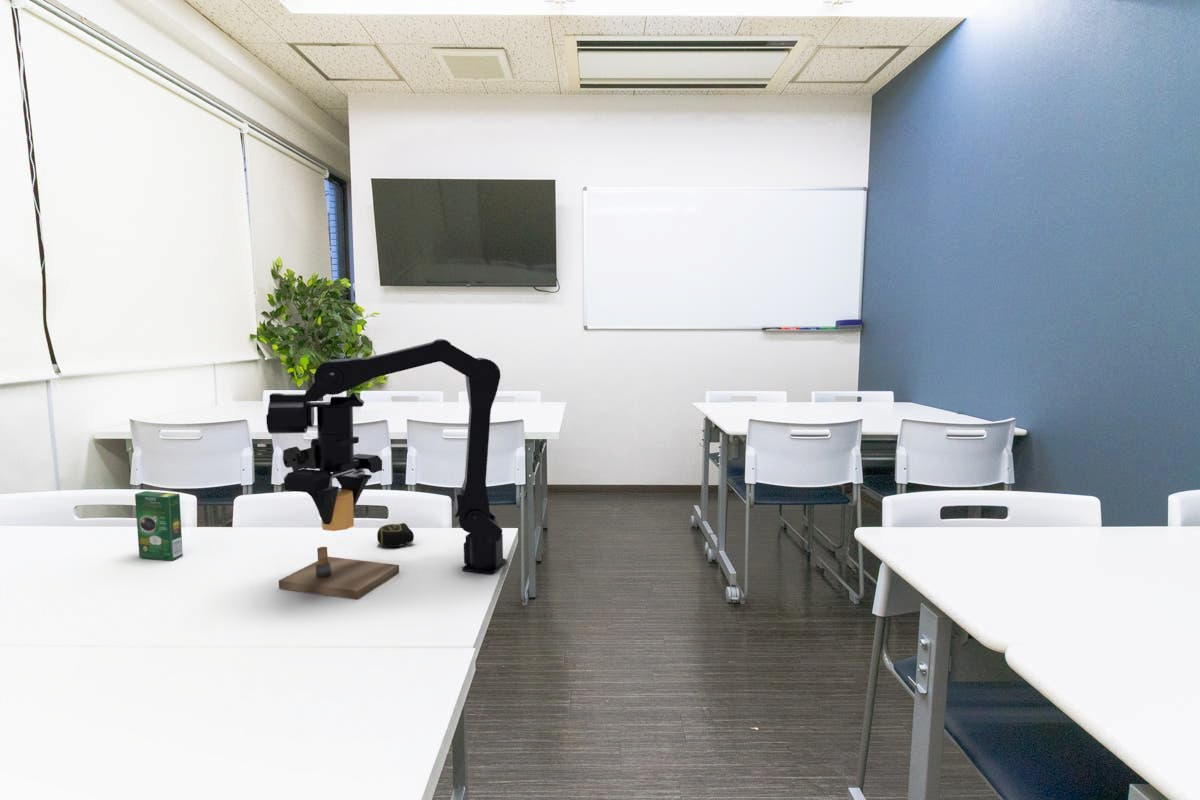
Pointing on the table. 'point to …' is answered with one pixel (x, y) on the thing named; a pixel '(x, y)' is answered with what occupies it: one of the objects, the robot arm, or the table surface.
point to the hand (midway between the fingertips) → (337, 519)
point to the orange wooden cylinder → (342, 512)
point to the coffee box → (159, 525)
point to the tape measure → (394, 535)
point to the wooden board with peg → (339, 576)
